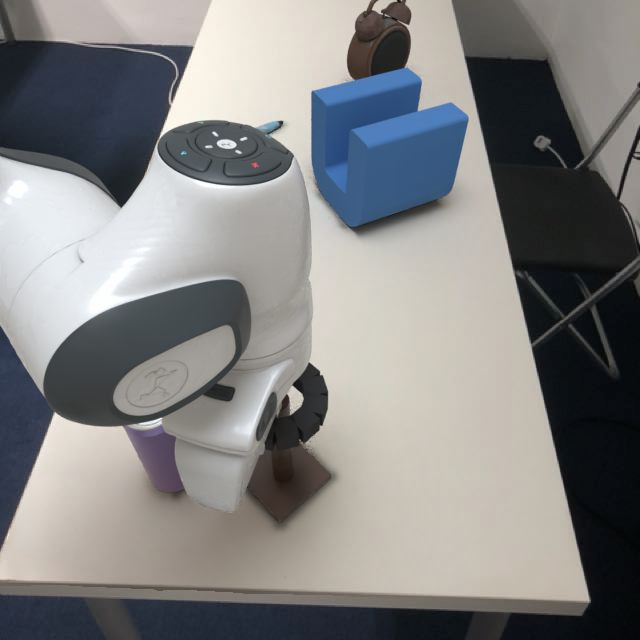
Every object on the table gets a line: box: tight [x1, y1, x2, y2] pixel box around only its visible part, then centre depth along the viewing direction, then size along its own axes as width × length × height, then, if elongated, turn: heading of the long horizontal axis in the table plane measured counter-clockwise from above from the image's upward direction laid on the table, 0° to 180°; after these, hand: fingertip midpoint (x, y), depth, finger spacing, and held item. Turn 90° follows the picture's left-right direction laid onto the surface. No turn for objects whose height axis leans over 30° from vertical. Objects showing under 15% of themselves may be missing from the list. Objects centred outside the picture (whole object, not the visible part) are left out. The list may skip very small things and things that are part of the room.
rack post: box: [247, 393, 332, 524], centre depth 61 cm, size 8×8×17 cm
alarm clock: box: [346, 0, 413, 81], centre depth 120 cm, size 15×7×20 cm, turn 132°
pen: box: [255, 120, 284, 134], centre depth 112 cm, size 19×3×3 cm, turn 132°
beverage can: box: [122, 418, 185, 493], centre depth 62 cm, size 6×6×15 cm
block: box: [310, 67, 470, 228], centre depth 96 cm, size 18×18×18 cm
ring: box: [265, 361, 329, 451], centre depth 55 cm, size 10×10×2 cm
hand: (263, 429), depth 52 cm, fingers closed on ring, 2 cm apart
